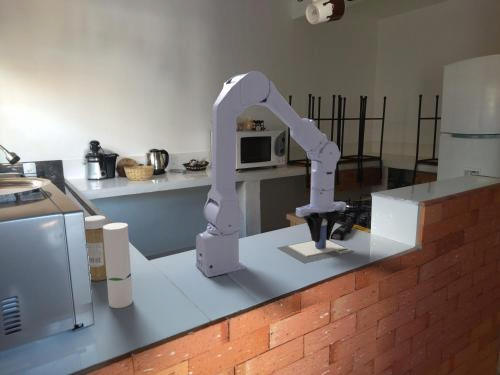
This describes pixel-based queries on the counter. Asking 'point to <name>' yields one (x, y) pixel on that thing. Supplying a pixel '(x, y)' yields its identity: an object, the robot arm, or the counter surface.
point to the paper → (314, 248)
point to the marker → (322, 235)
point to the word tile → (343, 250)
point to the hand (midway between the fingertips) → (320, 240)
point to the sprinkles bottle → (96, 246)
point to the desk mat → (309, 258)
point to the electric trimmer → (342, 230)
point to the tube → (118, 264)
